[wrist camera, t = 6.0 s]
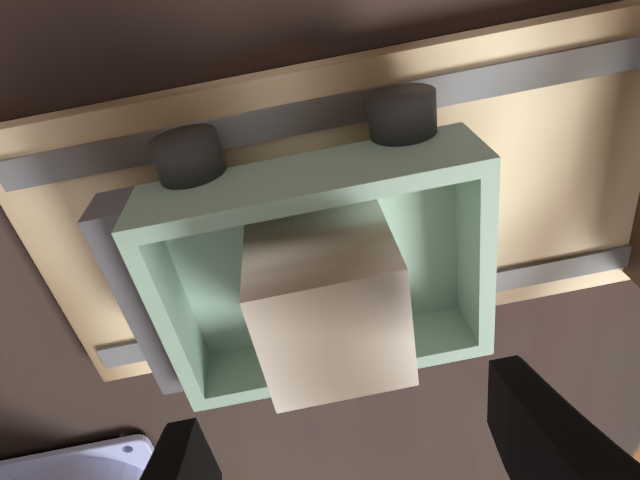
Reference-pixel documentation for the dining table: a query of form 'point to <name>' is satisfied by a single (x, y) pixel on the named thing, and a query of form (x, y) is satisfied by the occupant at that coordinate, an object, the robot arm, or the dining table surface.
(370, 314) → the block
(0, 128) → the track board
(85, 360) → the dining table surface
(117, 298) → the cart
